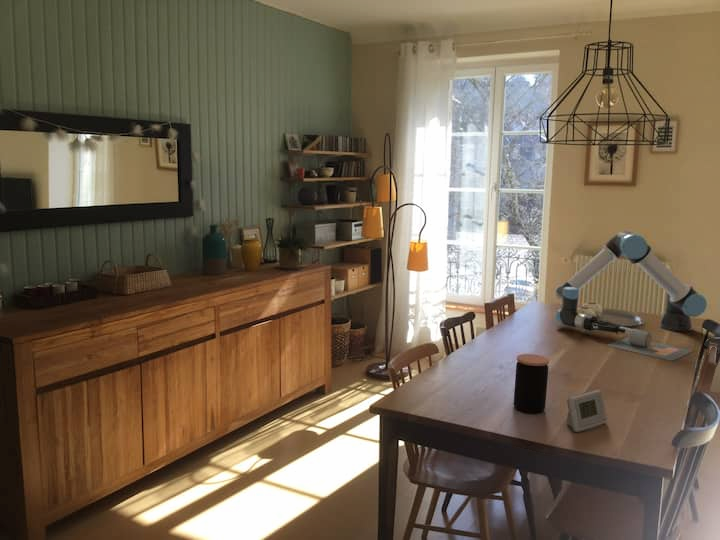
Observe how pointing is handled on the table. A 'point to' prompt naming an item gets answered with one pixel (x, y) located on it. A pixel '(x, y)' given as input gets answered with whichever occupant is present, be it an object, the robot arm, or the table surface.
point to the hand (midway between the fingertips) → (632, 332)
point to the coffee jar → (531, 383)
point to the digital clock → (586, 411)
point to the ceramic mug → (640, 338)
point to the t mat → (652, 349)
